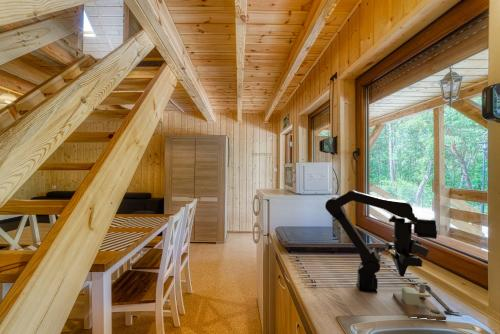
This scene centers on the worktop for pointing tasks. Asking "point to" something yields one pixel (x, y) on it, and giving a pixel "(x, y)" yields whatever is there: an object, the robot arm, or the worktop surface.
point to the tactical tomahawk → (441, 302)
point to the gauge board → (420, 307)
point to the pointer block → (412, 296)
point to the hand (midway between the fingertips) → (401, 276)
